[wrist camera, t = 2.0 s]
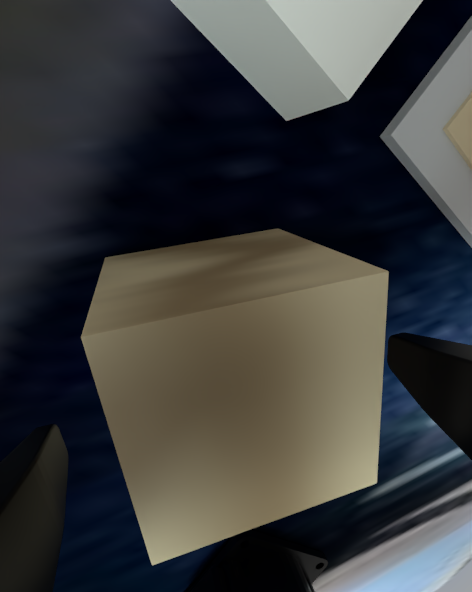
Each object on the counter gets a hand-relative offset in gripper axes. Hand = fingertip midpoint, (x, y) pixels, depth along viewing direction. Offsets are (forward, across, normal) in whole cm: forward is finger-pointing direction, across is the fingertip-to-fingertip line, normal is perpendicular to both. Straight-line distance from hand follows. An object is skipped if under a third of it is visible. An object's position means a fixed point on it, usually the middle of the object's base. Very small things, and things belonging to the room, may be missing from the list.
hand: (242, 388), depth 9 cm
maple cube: (+4, 0, 0) cm, 4 cm away
